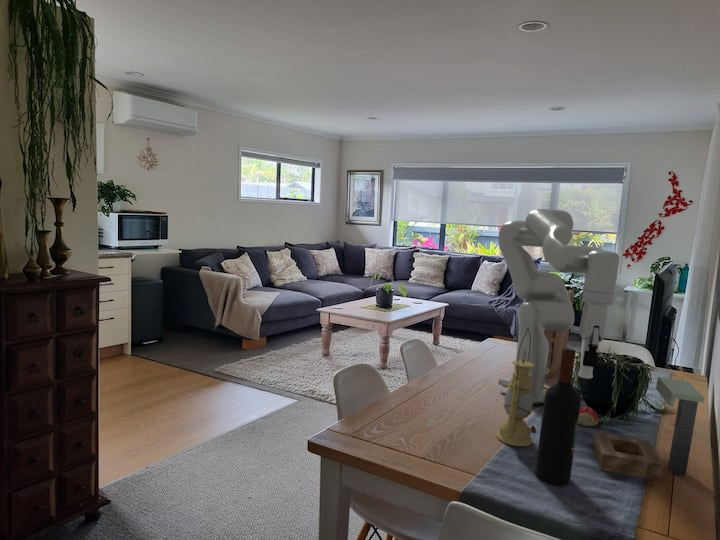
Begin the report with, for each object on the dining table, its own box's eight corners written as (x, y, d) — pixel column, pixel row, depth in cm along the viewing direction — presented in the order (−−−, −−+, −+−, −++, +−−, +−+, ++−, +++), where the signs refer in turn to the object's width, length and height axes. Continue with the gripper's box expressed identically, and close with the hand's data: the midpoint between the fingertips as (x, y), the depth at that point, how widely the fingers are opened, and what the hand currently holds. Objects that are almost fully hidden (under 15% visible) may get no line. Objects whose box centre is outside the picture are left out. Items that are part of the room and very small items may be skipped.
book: (541, 358, 217) (550, 286, 213) (565, 363, 212) (574, 289, 208) (524, 372, 196) (533, 293, 192) (549, 379, 191) (560, 297, 187)
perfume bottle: (596, 380, 141) (604, 325, 138) (578, 377, 142) (587, 323, 139) (592, 374, 145) (600, 321, 143) (575, 372, 146) (583, 319, 144)
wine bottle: (529, 468, 124) (545, 344, 120) (560, 469, 125) (577, 345, 121) (543, 485, 117) (560, 354, 113) (576, 486, 117) (594, 356, 113)
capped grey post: (657, 479, 123) (672, 392, 120) (645, 456, 135) (657, 376, 132) (691, 486, 121) (706, 397, 119) (675, 462, 133) (689, 381, 130)
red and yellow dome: (572, 424, 152) (574, 413, 152) (573, 413, 161) (575, 401, 161) (598, 430, 149) (599, 418, 149) (597, 418, 158) (599, 406, 158)
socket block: (600, 469, 126) (602, 453, 125) (592, 446, 138) (594, 431, 138) (660, 481, 123) (663, 465, 122) (646, 456, 135) (649, 441, 135)
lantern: (528, 453, 132) (542, 336, 127) (489, 441, 137) (502, 328, 132) (539, 436, 142) (553, 327, 138) (503, 426, 147) (515, 320, 143)
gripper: (578, 290, 149) (569, 352, 152) (586, 301, 133) (576, 370, 136) (607, 293, 147) (597, 356, 150) (619, 305, 131) (608, 375, 134)
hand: (587, 362), depth 143 cm, fingers closed on perfume bottle, 4 cm apart
